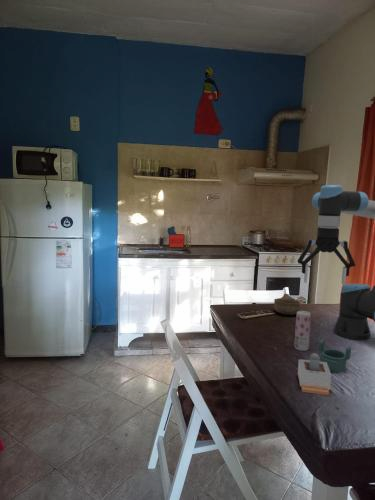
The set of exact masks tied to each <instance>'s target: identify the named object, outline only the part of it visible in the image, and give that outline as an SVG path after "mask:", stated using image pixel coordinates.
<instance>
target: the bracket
mask: <svg viewBox="0 0 375 500" xmlns="http://www.w3.org/2000/svg"><path fill="white" fill-rule="evenodd" d="M351 351H352V347H350V346H346V348H345V352H344V351H341V350H338V349H333V348H325V340H322V339H319V340H318V349H317V352H319V353H320V354H321V357H320V362H327V364H328V367H329V370H330V373H331V372H332V373H343V372H345V371H346V365H347V360H350V359H351Z"/></svg>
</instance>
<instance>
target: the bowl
mask: <svg viewBox="0 0 375 500" xmlns="http://www.w3.org/2000/svg"><path fill="white" fill-rule="evenodd" d="M273 301H274V302H273V303H274V304H273V309H274V310H275V311H276V312H277V313H278V314H280V313H281V315H284V316H293V315H296V314H297V312H298V311H301V305H300V303H301V302H300V300H297V299H295V298H294V297H292V296H291V295H290V294H289V293H284V294H283V296H281V297H279V298H274V300H273Z"/></svg>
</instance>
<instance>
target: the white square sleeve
mask: <svg viewBox="0 0 375 500" xmlns="http://www.w3.org/2000/svg"><path fill="white" fill-rule="evenodd" d="M309 364H310V359H302V358H300V359H298V365H297V377H298V381H299V386H300V387H301V386H302V387H310V388H318V389H326V390H329V391H330V390H331V385H332V373H331V371H330V370H329V367H328V364H327V362H321V361H320V363H319V371H311V370H309Z"/></svg>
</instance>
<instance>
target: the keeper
mask: <svg viewBox="0 0 375 500" xmlns="http://www.w3.org/2000/svg"><path fill="white" fill-rule="evenodd" d="M309 360H310V364H309V370H311V371H319V363H320V362H321V357H320V355H319V354H318V353H316V352H315V353H314V352H313V353H310V356H309ZM300 389H301V392H302V393H308V394H316V395H323V396H324V395H325V396H329V395H330V390H326V389H318V388H310V387H302V386H300Z"/></svg>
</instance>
